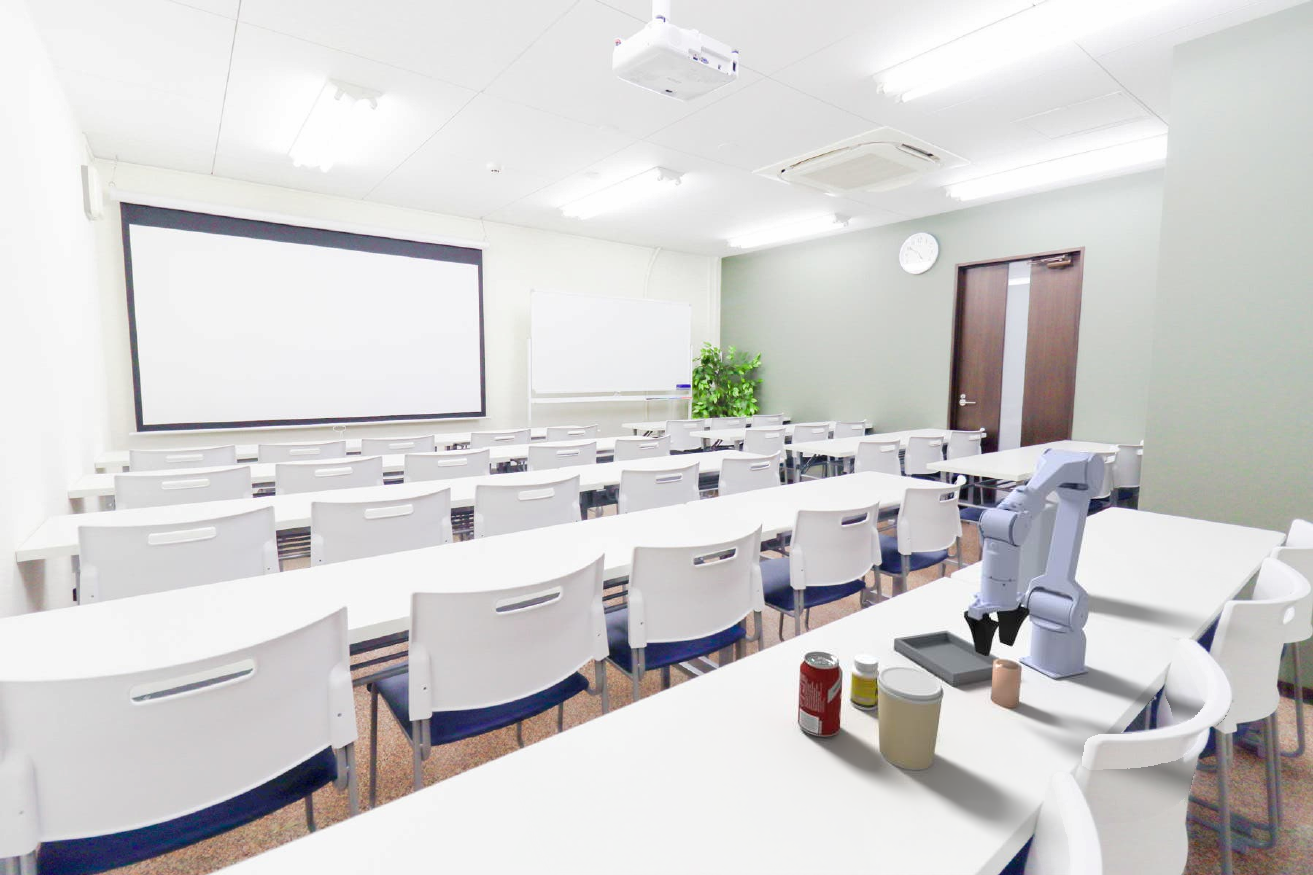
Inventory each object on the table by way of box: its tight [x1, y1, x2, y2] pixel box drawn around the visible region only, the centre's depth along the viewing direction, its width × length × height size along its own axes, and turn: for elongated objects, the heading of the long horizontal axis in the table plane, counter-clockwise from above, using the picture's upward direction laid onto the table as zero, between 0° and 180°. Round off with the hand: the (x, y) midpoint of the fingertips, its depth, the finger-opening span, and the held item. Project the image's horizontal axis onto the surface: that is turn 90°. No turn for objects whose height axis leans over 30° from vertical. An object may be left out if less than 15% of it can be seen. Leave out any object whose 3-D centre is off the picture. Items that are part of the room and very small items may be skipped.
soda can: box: [797, 651, 843, 738], centre depth 99 cm, size 7×7×12 cm
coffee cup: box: [877, 666, 945, 771], centre depth 92 cm, size 9×9×12 cm
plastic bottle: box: [1017, 497, 1060, 594], centre depth 164 cm, size 15×15×28 cm
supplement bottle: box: [849, 653, 880, 711], centre depth 107 cm, size 5×5×8 cm
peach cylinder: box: [990, 658, 1023, 709], centre depth 108 cm, size 4×4×7 cm
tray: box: [893, 630, 1001, 687], centre depth 123 cm, size 14×16×2 cm
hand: (994, 648), depth 108 cm, fingers open, 7 cm apart
